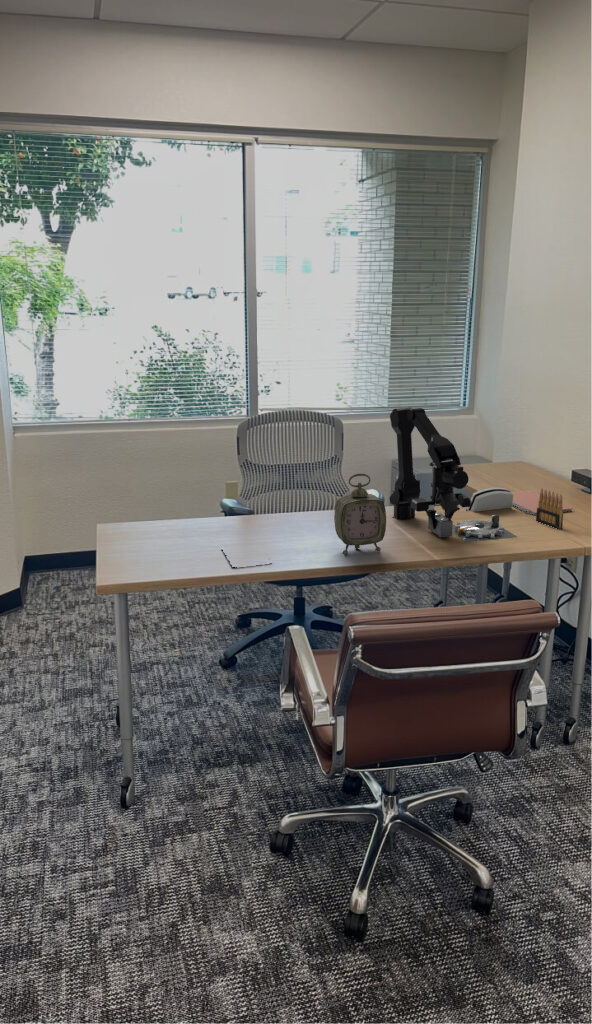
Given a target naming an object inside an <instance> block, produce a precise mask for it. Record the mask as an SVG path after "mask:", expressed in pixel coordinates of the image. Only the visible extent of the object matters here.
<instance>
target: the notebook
mask: <svg viewBox="0 0 592 1024" xmlns="http://www.w3.org/2000/svg"><path fill="white" fill-rule="evenodd" d="M510 492H511V493H512V494H513V502H512V506H513V505H514V506H513V507H515V506H516V507H515V508H517V507H518V508H517V509H519V508H520V509H519V510H521V511H520V512H522V511H523V512H522V513H524V512H525V514H527V515H529V514H530V513H531V514H530V515H532V514H533V515H532V516H536V515H537V507H538V503H539V497H540V492H536V491H534V490H531V489H528V490H521V491H520V490H519V491H510ZM562 506H563V509H562V513H565V512H566V513H567V511H568V512H572V510H573V509H574V508H573V507H570V506H569V505H566V504H564V503H562ZM526 511H527V512H526ZM528 512H529V513H528Z"/></svg>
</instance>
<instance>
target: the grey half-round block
mask: <svg viewBox="0 0 592 1024" xmlns="http://www.w3.org/2000/svg"><path fill="white" fill-rule="evenodd" d="M511 492H512V491H511V490H509V489H507V488H505V487H504V488H503V487H489V488H484V489H481V490H478V491H475V492H473V494H472V495H471V498H470V500H471V506H470V507H465V508H464V509H465V510H464V511H465V512H468V511H469V512H473V513H475V512H481V511H483V512H484V511H490V510H499V509H508V508H509V509H512V508H513V505H512V502H513V494H512V493H511ZM467 510H468V511H467Z"/></svg>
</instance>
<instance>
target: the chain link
mask: <svg viewBox="0 0 592 1024" xmlns="http://www.w3.org/2000/svg"><path fill="white" fill-rule="evenodd" d="M427 522H428V523H427V528H428V530H430V531H431V532H433V533H434V534H436V535H437V536H438V537H440V538H447V537H453V533H452V528H453V525H454V524H453V523H454V522H453V520H452V519H451V520H450V519H448V518H447V517H445V514H443V513H441V512H436V514H435V529H433V528H432V525H431V523H430V520H429V518H428V521H427Z"/></svg>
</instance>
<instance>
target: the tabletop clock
mask: <svg viewBox="0 0 592 1024" xmlns="http://www.w3.org/2000/svg"><path fill="white" fill-rule="evenodd" d="M356 477H366V478H367V479H368V481H367V482H366V483H364V484H362V483H361V482H358V483H357V484H352V483H351V480H352V479H353V478H356ZM371 481H372V480H371V477H370V476H369V474H366V473H356V474H352V475H351V477H349V479H348V484H349V486H351V487H354V489H353V490H352V491H351V494H348V495H343V496H341V497H338V498H337V499H336V502H335V505H334V518H333V519H334V528H335V529H334V530H335V534H336V535H337V537H338V539H340V541H342V543H343V544H344V545H345V549H344V550H342V554H344V556H348V555H349V552H348V549H349V547H350V546H354V549H355V548H356V550H359V549H360V547H361V546H366V545H374V547H375V551H376V552H377V553H380V551H382V548H381V547H380V546H378V544H377V543H380V542H381V541H383V540H384V537H385V536H386V535H385V534H386V526H387V512H386V507H385V503H384V501H383V500H382V499H380V498H379V497H378V496H377V495H376V494H375V495H374V494H372V493H369V492H368V491H367V490H366V489H365V487H366V486H369V484H370V483H371ZM358 548H359V549H358Z"/></svg>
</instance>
